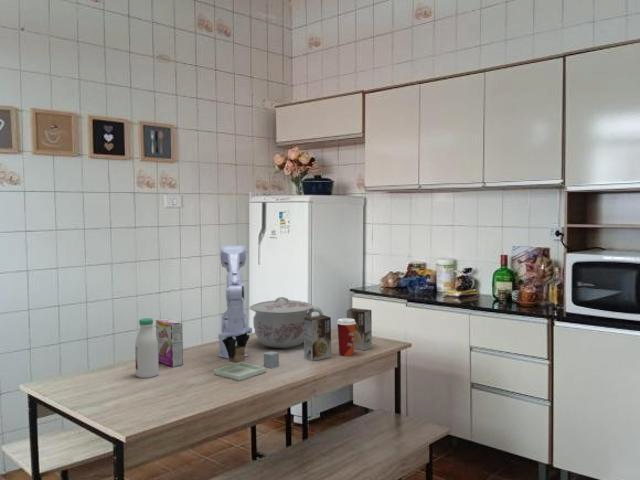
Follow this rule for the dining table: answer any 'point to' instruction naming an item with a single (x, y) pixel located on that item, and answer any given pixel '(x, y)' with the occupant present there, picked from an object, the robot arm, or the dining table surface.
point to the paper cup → (346, 336)
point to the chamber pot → (281, 322)
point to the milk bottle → (146, 350)
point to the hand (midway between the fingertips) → (236, 356)
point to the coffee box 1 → (317, 337)
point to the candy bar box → (169, 342)
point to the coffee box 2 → (361, 328)
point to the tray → (239, 371)
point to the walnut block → (238, 354)
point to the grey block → (271, 359)
